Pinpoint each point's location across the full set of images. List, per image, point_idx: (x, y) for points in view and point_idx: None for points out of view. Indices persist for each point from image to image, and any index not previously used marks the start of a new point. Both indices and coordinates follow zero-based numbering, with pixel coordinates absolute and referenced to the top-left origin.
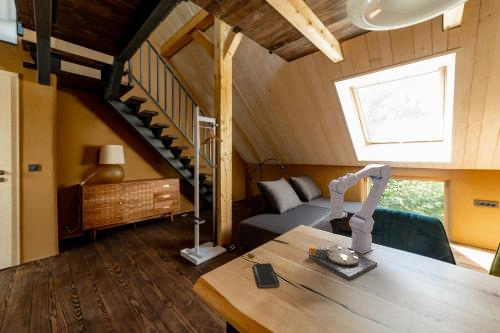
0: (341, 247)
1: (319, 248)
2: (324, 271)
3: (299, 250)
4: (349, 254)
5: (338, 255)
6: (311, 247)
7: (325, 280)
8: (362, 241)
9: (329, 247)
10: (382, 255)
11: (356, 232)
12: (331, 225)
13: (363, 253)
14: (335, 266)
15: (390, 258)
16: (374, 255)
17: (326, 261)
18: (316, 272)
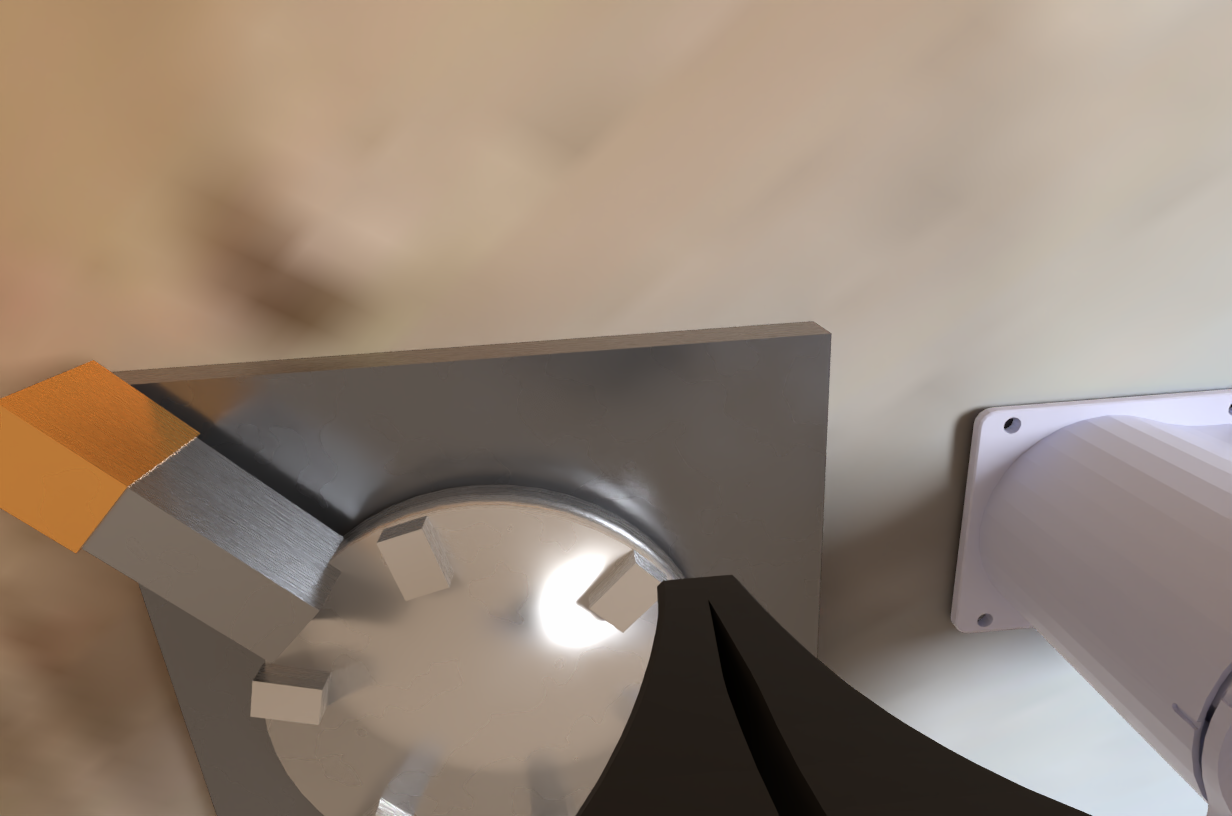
0: (823, 440)
1: (159, 561)
2: (119, 697)
3: (105, 67)
4: (599, 747)
5: (419, 711)
6: (5, 480)
7: (15, 806)
8: (1111, 704)
9: (638, 349)
10: (1117, 726)
11: (1214, 751)
12: (629, 734)
13: (964, 628)
14: (253, 759)
15: (1103, 794)
16: (1039, 691)
17: (224, 644)
18: (3, 677)
